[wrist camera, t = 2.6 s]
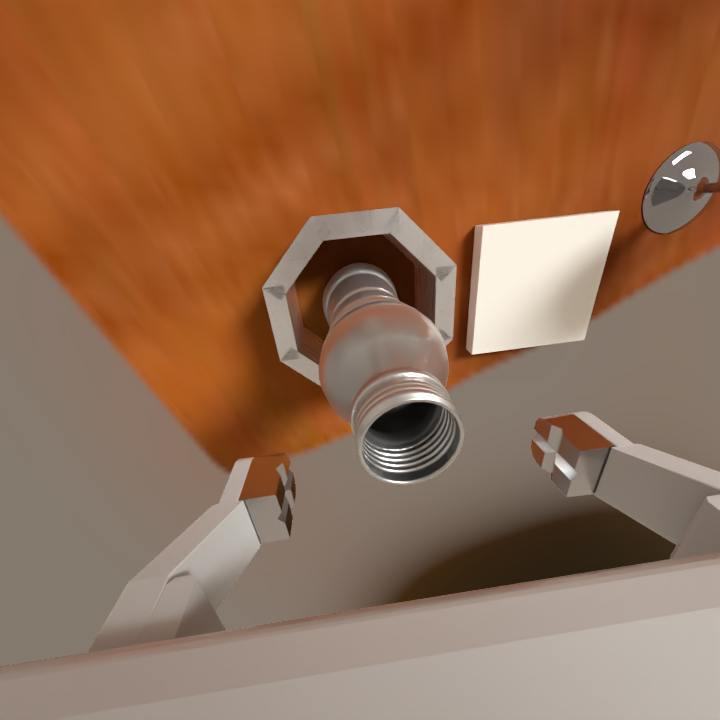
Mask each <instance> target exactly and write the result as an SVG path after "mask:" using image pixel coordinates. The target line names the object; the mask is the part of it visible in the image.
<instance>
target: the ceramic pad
mask: <svg viewBox="0 0 720 720" xmlns="http://www.w3.org/2000/svg"><path fill="white" fill-rule="evenodd" d="M618 215H619V211H601V212H592V213H583V214H575V215H566V216H557V217H548V218H539V219H530V220H521V221H512V222H503V223H494V224H485V225H476V226H475V234H474V247H473V260H472V274H471V287H470V300H469V314H468V327H467V340H466V349H467V350H468V351H469V352H470V353H471V354H472V355H473V354H481V353H489V352H496V351H504V350H511V349H519V348H527V347H534V346H542V345H549V344H557V343H565V342H572V341H580V340H584V339H585V335H586V332H587V328H588V325H589V321H590V317H591V314H592V310H593V306H594V303H595V299H596V295H597V292H598V288H599V284H600V281H601V277H602V273H603V270H604V266H605V262H606V259H607V255H608V251H609V248H610V244H611V240H612V237H613V233H614V229H615V226H616V222H617V218H618Z"/></svg>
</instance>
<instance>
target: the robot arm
mask: <svg viewBox="0 0 720 720" xmlns="http://www.w3.org/2000/svg"><path fill="white" fill-rule="evenodd" d="M534 429H535V430H536V431H537V434H536V436H534V438H533V439H532V443H531V450H532V454H533V457H534V459H535V460H536V462H537V464H538V465H539V466H540V467H541V468H542V469H544V470H546V471H548V472H550V473H551V480H552V481H553V482H554V483H555V485H556V486H557V487H558V488H559V489H560V490H561V491H562V493H563V494H564V495H565V496H566V497H572V496H580V495H589V494H595V496H596V497H598V498H600V499H601V500H603V501H605V502H606V503H608V504H610V505H611V506H613V507H615V508H616V509H618V510H620V511H621V512H623V513H624V514H626V515H628V516H630V517H631V518H633V519H634V520H636V521H638V522H639V523H641V524H643V525H644V526H646V527H648V528H649V529H651V530H653V531H654V532H656V533H658V534H659V535H661V536H662V537H664V538H666V539H668V540H669V541H671V542H672V543H674V544H676V545H677V546H676V548H675V549H674V551H673V552H672V554H671V556H670V559H669V560H663V561H657V562H650V563H644V564H639V565H632V566H625V567H619V568H613V569H607V570H600V571H594V572H588V573H582V574H576V575H569V576H563V577H557V578H550V579H544V580H538V581H532V582H525V583H519V584H513V585H506V586H500V587H494V588H488V589H482V590H476V591H469V592H463V593H457V594H451V595H444V596H438V597H432V598H426V599H420V600H414V601H408V602H401V603H395V604H388V605H383V606H376V607H370V608H363V609H357V610H351V611H345V612H338V613H332V614H326V615H320V616H313V617H307V618H301V619H295V620H288V621H282V622H276V623H270V624H264V625H257V626H252V627H245V628H239V629H232V630H226V628H225V626H224V625H223V623H222V621H221V620H220V618H219V617H218V615H217V613H216V610H217V609H218V607H219V606H220V604H221V603H222V601H223V600H224V599H225V597H226V595H227V594H228V593H229V591H230V590H231V588H232V587H233V585H234V584H235V583H236V581H237V580H238V578H239V577H240V575H241V574H242V572H243V571H244V569H245V568H246V566H247V565H248V563H249V562H250V560H251V559H252V558H253V556H254V555H255V553H256V552H257V550H258V549H259V548H260V546H261V545H260V544H261V543H267V542H273V541H278V540H284V539H289V538H290V535H291V528H292V520H293V516H292V512H291V507H292V506H293V505H294V504H295V497H296V485H295V478H294V474H293V472H291V471H290V470H289V467H290V460H289V456H288V454H286V453H283V454H275V455H266V456H257V457H251V458H242V459H238V460H237V461H236V462H235V464H234V466H233V469H232V471H231V474H230V476H229V479H228V481H227V483H226V486H225V488H224V491H223V493H222V496H221V498H220V500H219V503H218V504H215V505H212V506H211V507H210V508H209V509H208V510H207V511H206V512H205V513H203V514H202V515H201V516H200V517H199V518H198V519H197V520H196V521H195V522H194V523H192V524H191V526H189V527H188V528H187V529H186V530H185V531H184V532H183V533H182V534H180V535H179V536H178V537H177V538H176V539H175V540H174V541H173V542H172V543H171V544H169V546H167V547H166V548H165V549H164V550H163V551H162V552H161V553H160V554H159V555H158V556H156V557H155V558H154V559H153V560H152V561H151V562H150V563H149V564H148V565H147V566H145V567H144V568H143V569H142V570H141V571H140V572H139V573H138V574H137V575H136V576H135V577H133V578H132V579H131V580H130V581H129V582H128V583H127V585H126V587H125V588H124V590H123V592H122V594H121V595H120V598H119V599H118V601H117V602H116V604H115V606H114V608H113V609H112V611H111V613H110V615H109V616H108V618H107V620H106V622H105V623H104V625H103V627H102V628H101V630H100V632H99V634H98V635H97V637H96V639H95V641H94V643H93V644H92V646H91V648H90V649H89V651H88V653H82V654H75V655H69V656H63V657H56V658H50V659H44V660H38V661H31V662H25V663H19V664H12V665H6V666H0V720H720V472H718V471H715V470H712V469H709V468H706V467H704V466H701V465H698V464H695V463H692V462H690V461H687V460H684V459H681V458H678V457H675V456H672V455H670V454H667V453H664V452H661V451H658V450H656V449H652V448H650V447H647V446H644V445H641V444H633V443H631V442H630V441H629V440H627V439H626V438H625V437H623V436H622V435H620V434H619V433H618V432H616V431H615V430H613V429H612V428H611V427H609V426H608V425H606V424H605V423H603V422H602V421H601V420H600V419H598V418H597V417H595V416H594V415H593V414H591V413H589V412H586V411H583V412H576V413H570V414H565V415H558V416H552V417H545V418H539V419H538V420H537V421H536V423H535V427H534Z"/></svg>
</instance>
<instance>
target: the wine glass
mask: <svg viewBox="0 0 720 720" xmlns="http://www.w3.org/2000/svg"><path fill="white" fill-rule="evenodd" d="M716 193H720V150H719V148H718V147H717V146H715V145H714V144H712V143H709V142H695V143H691V144H688V145H686V146H684V147H682V148H680V149H679V150H677V151H676V152H674V153H673V154H672V155H670V156H669V157H668V158H667V159H666V160H665V161H664V162H663V163H662V164H661V166H660V167H659V168H658V169H657V171H656V172H655V174H654V175H653V177H652V178H651V180H650V182H649V184H648V186H647V189H646V191H645V194H644V198H643V203H642V215H643V219H644V222H645V224H646V225H647V227H648V228H649V229H650V230H652V231H654V232H656V233H661V234H667V233H672V232H675V231H678V230H680V229H682V228H684V227H686V226H688V225H689V224H690V223H692V222H693V221H695V220H696V219H697V218H698V217H699V216H700V215H701V214H702V213H703V212H704V211H705V210H706V209H707V207H708V206H709V205H710V203H711V202H712V200H713V199H714V197H715V195H716Z"/></svg>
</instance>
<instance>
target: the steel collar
mask: <svg viewBox="0 0 720 720" xmlns="http://www.w3.org/2000/svg"><path fill="white" fill-rule="evenodd" d="M379 234H382V235H383V236H384V237H385V238H386V239H387V240H388V241H389V242H390V243H392V244H393V245H394V246H395V247H396V248H397V249H398V250H399V251H400V252H401V253H402V254H403V255H404V256H406V257H407V258H408V259H409V260H410V261H411V262H412V263H413V264H414V280H415V309H417V310H418V311H419V312H421V313H422V314H423V315H424V316H426V317H427V318H428V319H430V320H431V321H432V322H433V324H434V325H435V326H436V327H437V328H438V330H439V332H440V334H441V336H442V338H443V340H444V343H445V346H446V345H447V344H448V343H449V342H450V341H451V340H452V339H453V324H454V305H455V285H456V266H457V265H456V264H455V263H454V262H453V261H452V260H451V259H450V258H449V257H448V256H447V255H446V254H445V253H444V252H443V251H442V250H441V249H440V248H439V247H438V246H437V245H436V244H435V243H434V242H433V241H432V240H431V239H430V238H429V237H428V236H427V235H426V234H425V233H424V232H423V231H422V230H421V229H420V228H419V227H418V226H417V225H416V224H415V223H414V222H413V221H412V220H411V219H410V218H409V217H408V216H407V215H406V214H405V213H404V212H403V211H402V210H401V209H400V208H399V207H396V208H387V209H378V210H368V211H359V212H350V213H340V214H331V215H322V216H313V217H310V218H309V219H308V221H307V222H306V224H305V225H304V227H303V228H302V230H301V231H300V233H299V234H298V236H297V237H296V238H295V240H294V241H293V243H292V244H291V246H290V247H289V249H288V250H287V252H286V253H285V255H284V256H283V258H282V259H281V261H280V262H279V264H278V265H277V267H276V268H275V270H274V271H273V273H272V274H271V275H270V277H269V278H268V280H267V281H266V283H265V284H264V286H263V287H262V290H263V294H264V298H265V302H266V306H267V310H268V314H269V318H270V322H271V326H272V330H273V334H274V338H275V342H276V346H277V350H278V354H279V358H280V361H281V362H282V363H284V364H286V365H287V366H289V367H290V368H292V369H294V370H295V371H297V372H298V373H300V374H302V375H303V376H305V377H307V378H308V379H310V380H311V381H313V382H315V383H316V384H318V385H319V386H321V384H320V380H319V361H320V356H321V351H322V346H323V344H324V340H323V339H321V338H320V337H318V336H317V335H316V334H314V333H313V332H311V331H310V330H308V329H307V328H305V327H304V325H303V320H302V315H301V310H300V305H299V300H298V294H297V289H296V284H295V280H296V278H297V277H298V276H299V274H300V273H301V271H302V270H303V269H304V267H305V266H306V264H307V263H308V262H309V260H310V259H311V257H312V256H313V255H314V253H315V252H316V250H317V249H318V248H319V246H320V245H321V243H322V242H323V241H325V240H334V239H343V238H352V237H361V236H370V235H379Z"/></svg>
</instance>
